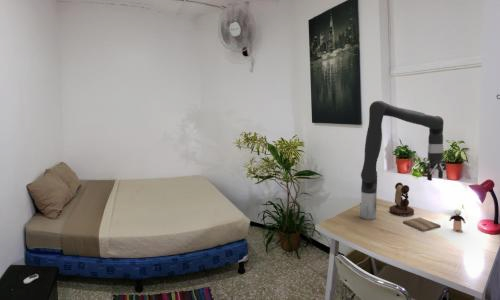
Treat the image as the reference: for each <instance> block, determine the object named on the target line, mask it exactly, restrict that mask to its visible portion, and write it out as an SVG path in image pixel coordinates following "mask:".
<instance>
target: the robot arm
mask: <svg viewBox="0 0 500 300" xmlns="http://www.w3.org/2000/svg"><path fill="white" fill-rule="evenodd" d="M368 110H369V111H368V112H369V113H368V126H367V131H366V136H365V142H364V157H363V158H364V159H363V160H364V161H363V165H362V169H361V172H360V178H361V187H360V189H361V190H360V194H361V195H360V202H359V217H361V218H362V219H364V220H375V219H376V218H377V197H378V196H377V192H378V191H377V189H378V171H377V165H378V164H377V163H378V159H379V157H380V152H381V148H382V144H383V143H382V142H383V129H382V127H383V126H382V125H383V124H382V123H383V120H384V119H383V118H384V116H385V117H386V116H387V117H390V118H391V117H392V118H395V119H398V120H401V121H405V122H407V123H411V124H415V125H419V126H423V127H425V128H428V129H429V130H428V131H429V133H428V134H429V135H428V146H427V159H428V162H425V163H424V165H423V167H424V168H423V169H424V171H423V172H424V174H426V177H427V178H426V180H427V181H433V173H434V172H435V171H436V170H437V171H438V172H437V177H438V179H443V177H444V172H445V171H447V161H446V160H445V159H444V135H443V133H444V119H443V117H441V116H439V115H431V114H426V113H425V112H424V113H423V112H422V111H421V112H420V111H416V110H411V109H407V108H402V107H398V106H394V105H391V104H388V103H387V102H384V101H382V100H376V101H372V103H371V104H370V106H369V109H368Z"/></svg>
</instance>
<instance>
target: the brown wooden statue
mask: <svg viewBox="0 0 500 300" xmlns="http://www.w3.org/2000/svg"><path fill="white" fill-rule="evenodd" d="M394 189H395V192H394V193H395V194H394V203H395V204H394V205H391V206H389V207H388V209H389V211H390V212H391V213H393V214H397V215H398V217H400V216H401V215H403V216H405V215H406V216H407V215H409V216H410V215H414V213H415V209H414V208H413V207H411V206H409V204H410V201H409V194H408V193H409V191H410V187H409V185H407V184H405V185H404V184H403V183H402V182H397V183H396V184H395V185H394Z"/></svg>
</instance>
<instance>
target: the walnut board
mask: <svg viewBox="0 0 500 300" xmlns="http://www.w3.org/2000/svg"><path fill="white" fill-rule="evenodd" d="M402 224H404V225H406V226H409V227H410V228H413V229H416V230H418V231H420V232H422V233H423V232H428V231H432V230H436V229H439V228H441V224H438V223H435V222H433V221H430V220H428V219H425V218H423V217H420V216H419V217H416V218H411V219H407V220H402Z"/></svg>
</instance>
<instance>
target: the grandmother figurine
mask: <svg viewBox="0 0 500 300" xmlns="http://www.w3.org/2000/svg"><path fill="white" fill-rule="evenodd" d="M453 213H454V215H451V216H450V218H449V219H448V221H449V222H451V221H452V220H453V228H452V231H454V232H460V233H462V232H463V227H462V225H463V224H466V221H465V220H466V219H465V218H464V217H463V216H462V215H461V214H462V210H461V209H457V208H456V209H455V210H454V211H453ZM462 222H463V224H462Z"/></svg>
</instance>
